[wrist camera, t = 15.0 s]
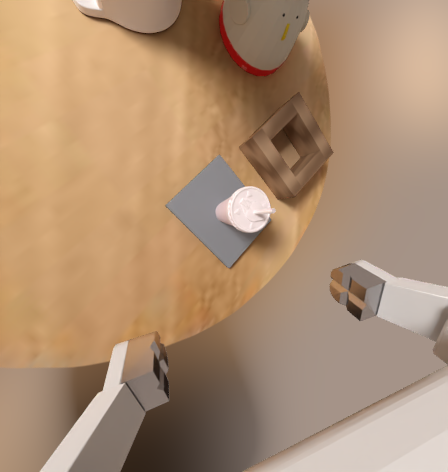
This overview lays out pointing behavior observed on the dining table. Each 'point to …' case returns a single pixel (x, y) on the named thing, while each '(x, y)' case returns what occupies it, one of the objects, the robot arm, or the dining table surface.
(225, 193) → the rubber mat
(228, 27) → the kitchen timer
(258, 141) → the holder collar
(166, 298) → the dining table surface
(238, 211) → the smoothie
